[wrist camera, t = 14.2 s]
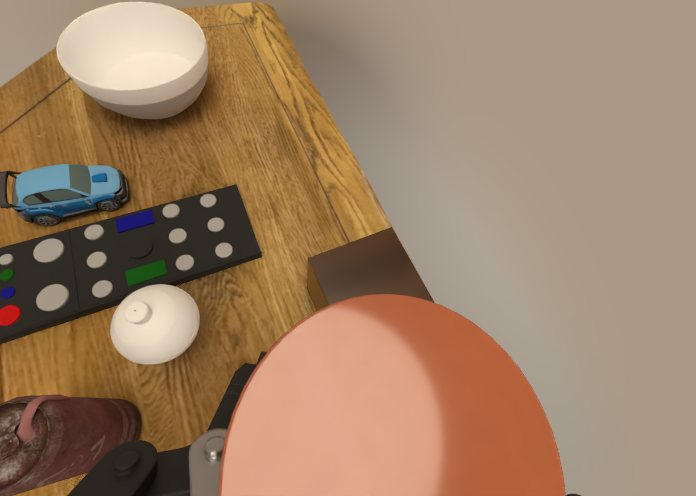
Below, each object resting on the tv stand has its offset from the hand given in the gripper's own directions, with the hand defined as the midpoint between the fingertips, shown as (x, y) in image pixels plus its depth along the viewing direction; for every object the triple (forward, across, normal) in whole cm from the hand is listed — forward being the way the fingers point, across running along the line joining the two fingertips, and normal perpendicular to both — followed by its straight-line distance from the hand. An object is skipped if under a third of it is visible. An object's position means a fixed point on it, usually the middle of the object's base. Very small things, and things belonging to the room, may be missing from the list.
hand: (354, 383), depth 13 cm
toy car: (+34, +36, +5) cm, 49 cm away
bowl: (+49, +33, -10) cm, 60 cm away
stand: (+27, -3, +12) cm, 30 cm away
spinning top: (+23, +17, +16) cm, 33 cm away
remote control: (+29, +26, +10) cm, 41 cm away
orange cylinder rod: (+4, 0, +6) cm, 7 cm away
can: (+16, +21, +24) cm, 36 cm away
